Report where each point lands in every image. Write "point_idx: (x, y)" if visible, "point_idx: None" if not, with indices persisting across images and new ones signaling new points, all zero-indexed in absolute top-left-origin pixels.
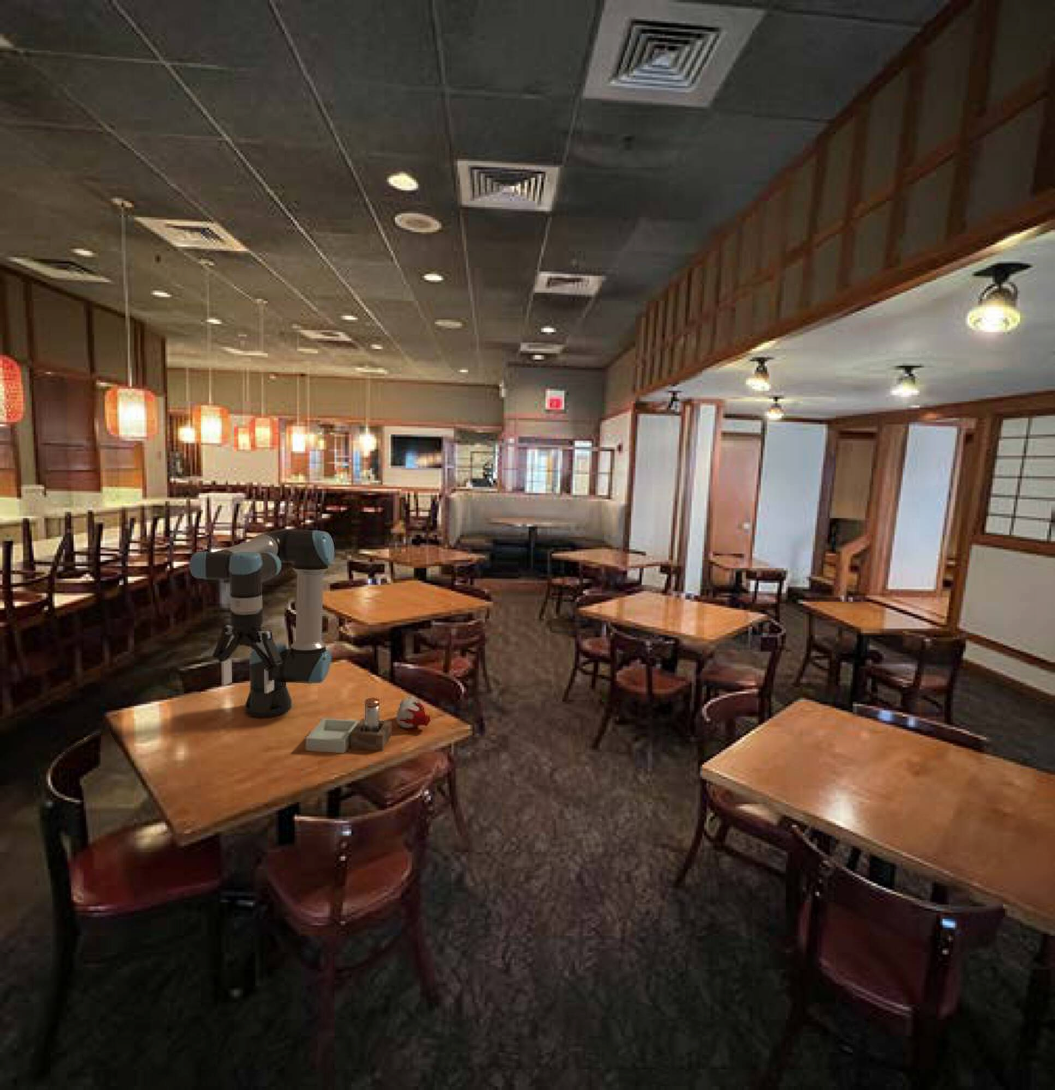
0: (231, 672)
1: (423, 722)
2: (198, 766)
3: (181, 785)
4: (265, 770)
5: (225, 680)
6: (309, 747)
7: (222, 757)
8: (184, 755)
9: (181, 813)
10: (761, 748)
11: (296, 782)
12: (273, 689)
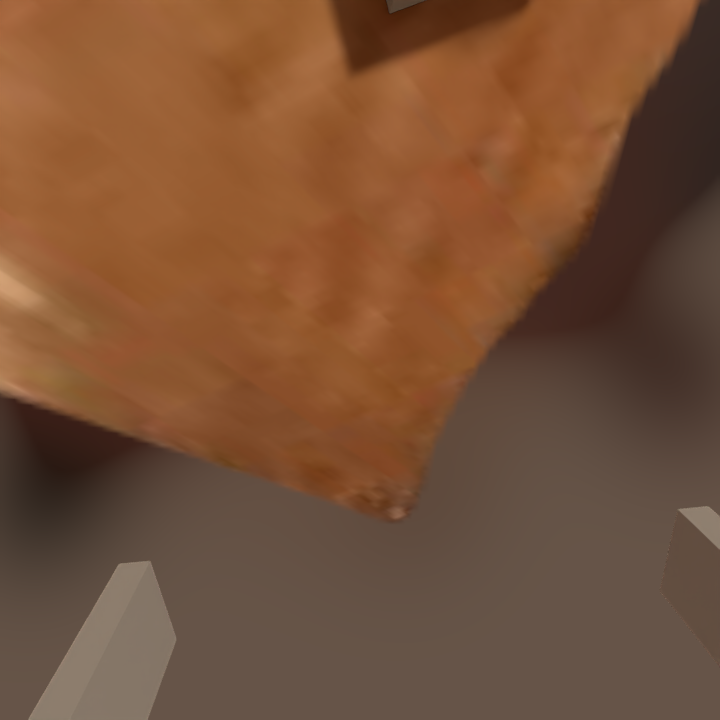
0: (91, 679)
1: None
2: (131, 308)
3: (197, 403)
4: (356, 227)
5: (154, 676)
6: (408, 2)
7: (140, 226)
8: (11, 277)
9: (322, 480)
10: None
11: (509, 240)
12: (708, 514)
